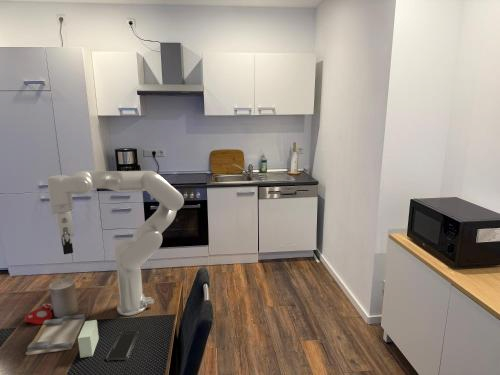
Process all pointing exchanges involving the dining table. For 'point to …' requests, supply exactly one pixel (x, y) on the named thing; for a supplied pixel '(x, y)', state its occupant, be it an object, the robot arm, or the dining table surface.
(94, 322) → the sage panel block
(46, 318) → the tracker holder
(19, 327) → the dining table surface
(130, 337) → the phone
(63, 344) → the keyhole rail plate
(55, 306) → the pillar candle
